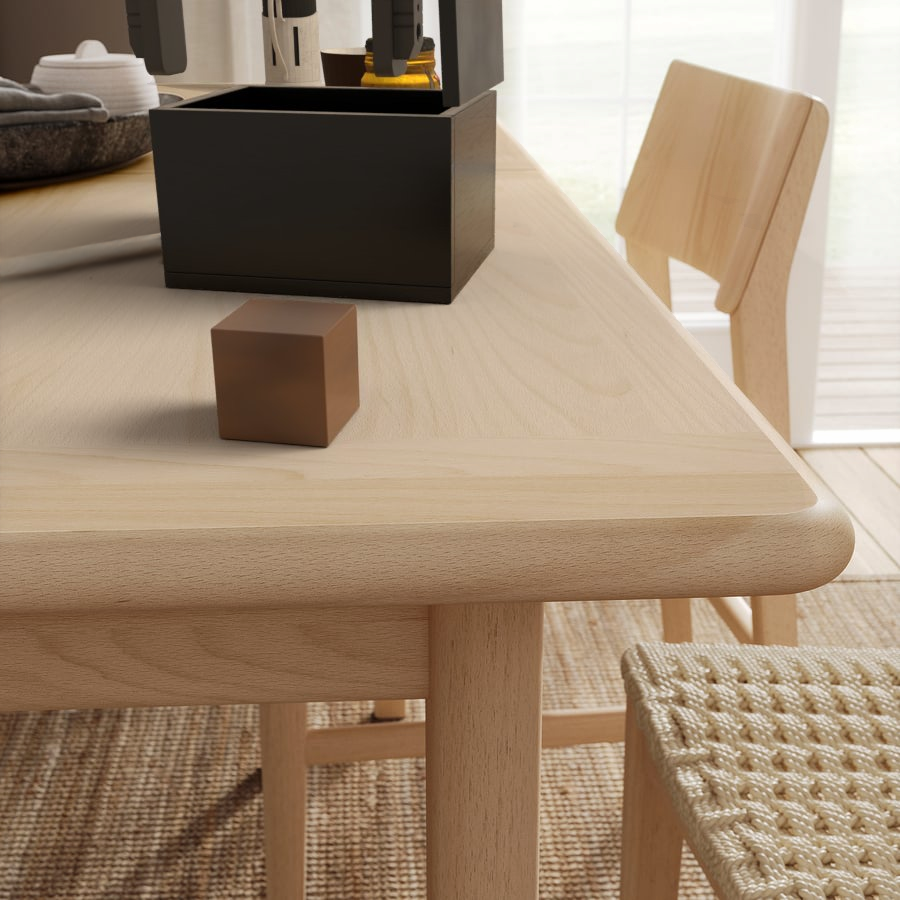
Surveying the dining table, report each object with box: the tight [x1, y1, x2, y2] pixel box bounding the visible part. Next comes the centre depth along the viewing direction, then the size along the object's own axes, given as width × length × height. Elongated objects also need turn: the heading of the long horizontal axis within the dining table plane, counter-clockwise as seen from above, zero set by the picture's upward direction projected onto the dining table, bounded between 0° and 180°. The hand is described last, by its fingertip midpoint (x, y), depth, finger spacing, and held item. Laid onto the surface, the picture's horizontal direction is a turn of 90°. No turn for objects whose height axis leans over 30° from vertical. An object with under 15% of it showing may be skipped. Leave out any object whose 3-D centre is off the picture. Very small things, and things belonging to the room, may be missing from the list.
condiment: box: [361, 36, 442, 89], centre depth 90 cm, size 7×8×12 cm
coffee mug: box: [319, 46, 367, 87], centre depth 102 cm, size 12×9×10 cm
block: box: [210, 297, 361, 448], centre depth 47 cm, size 4×4×4 cm
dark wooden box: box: [148, 84, 498, 305], centre depth 70 cm, size 17×14×10 cm
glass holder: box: [261, 0, 324, 86], centre depth 162 cm, size 9×14×15 cm, turn 172°
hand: (276, 74), depth 42 cm, fingers open, 8 cm apart
